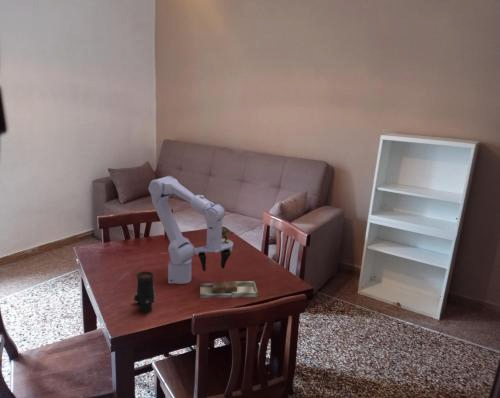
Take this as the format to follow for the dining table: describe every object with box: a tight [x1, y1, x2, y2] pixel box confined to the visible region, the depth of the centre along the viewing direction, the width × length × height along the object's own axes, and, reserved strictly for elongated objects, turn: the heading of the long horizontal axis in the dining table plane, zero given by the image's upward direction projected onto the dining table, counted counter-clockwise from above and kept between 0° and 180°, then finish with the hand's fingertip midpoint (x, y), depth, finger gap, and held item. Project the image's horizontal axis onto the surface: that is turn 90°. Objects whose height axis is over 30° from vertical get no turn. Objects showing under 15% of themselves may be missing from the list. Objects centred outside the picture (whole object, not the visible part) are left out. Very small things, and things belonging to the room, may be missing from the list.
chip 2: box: [224, 281, 237, 293], centre depth 152 cm, size 4×4×3 cm
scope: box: [132, 271, 156, 314], centre depth 138 cm, size 8×14×10 cm
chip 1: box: [212, 281, 225, 294], centre depth 152 cm, size 4×4×3 cm
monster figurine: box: [221, 227, 235, 248], centre depth 198 cm, size 12×12×10 cm
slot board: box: [199, 280, 259, 299], centre depth 152 cm, size 22×9×3 cm, turn 97°
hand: (213, 268), depth 152 cm, fingers open, 7 cm apart
